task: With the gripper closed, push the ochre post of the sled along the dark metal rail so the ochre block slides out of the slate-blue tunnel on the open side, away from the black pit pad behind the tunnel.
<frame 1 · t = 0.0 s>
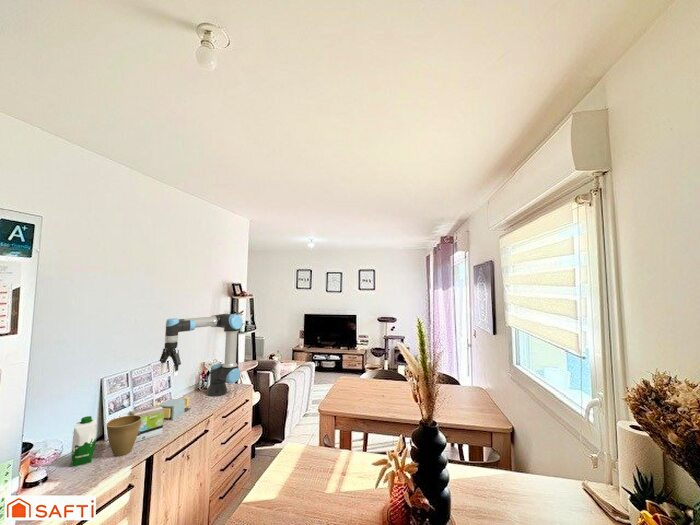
hand: (169, 374, 206), 28 cm above the table, fingers open, 13 cm apart
plant pot: (122, 453, 160), on the table
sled: (176, 407, 212), point 4 cm above the table, slide at 0.0 cm
milk carton: (82, 462, 151), on the table
tunnel: (171, 416, 206), on the table
tea box: (145, 436, 179), on the table
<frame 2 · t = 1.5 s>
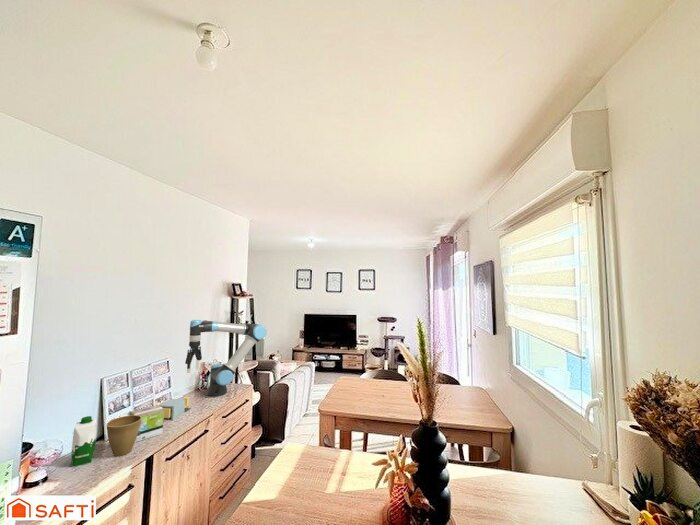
hand: (193, 370, 231), 24 cm above the table, fingers open, 10 cm apart
nothing on the table moved.
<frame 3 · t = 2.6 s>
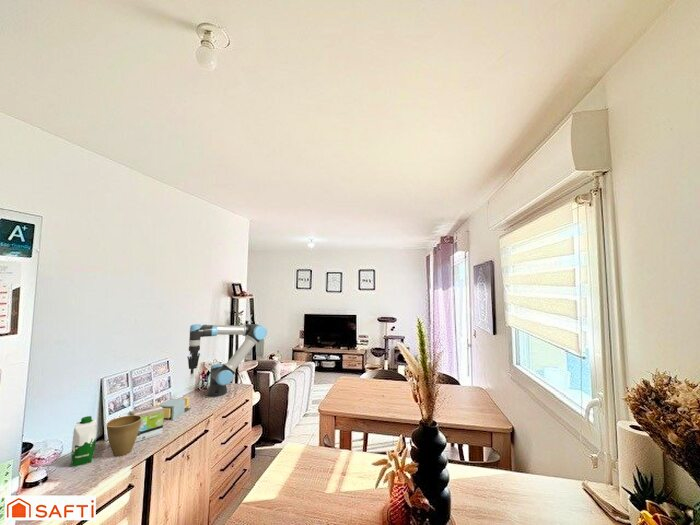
hand: (192, 377, 231), 19 cm above the table, fingers closed
nothing on the table moved.
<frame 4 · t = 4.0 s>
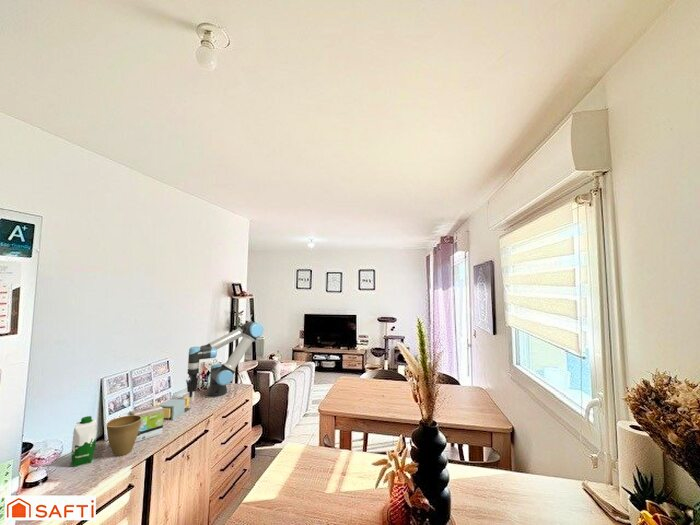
hand: (191, 400, 229), 2 cm above the table, fingers closed
nothing on the table moved.
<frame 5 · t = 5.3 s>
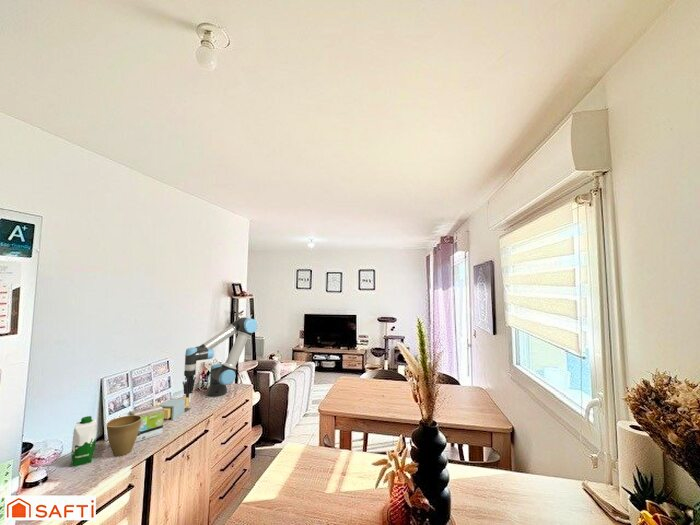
hand: (187, 402, 225), 2 cm above the table, fingers closed
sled: (175, 407, 211), point 4 cm above the table, slide at 0.9 cm, touching gripper
everything else where it was.
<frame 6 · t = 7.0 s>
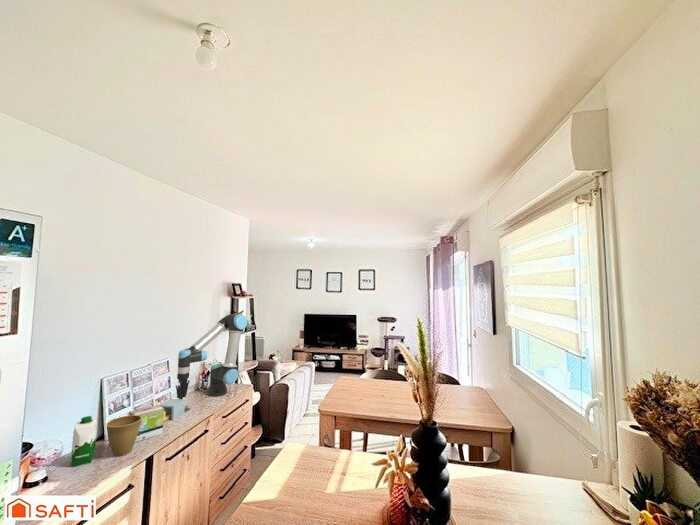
hand: (181, 407, 217), 2 cm above the table, fingers closed
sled: (168, 412, 203), point 4 cm above the table, slide at 9.1 cm, touching gripper
everything else where it was.
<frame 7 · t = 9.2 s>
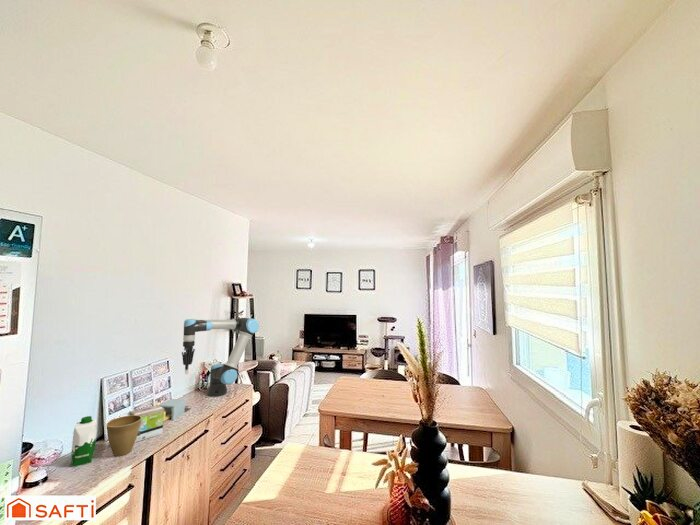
hand: (187, 373, 224), 24 cm above the table, fingers closed
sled: (168, 412, 203), point 4 cm above the table, slide at 9.0 cm
everything else where it was.
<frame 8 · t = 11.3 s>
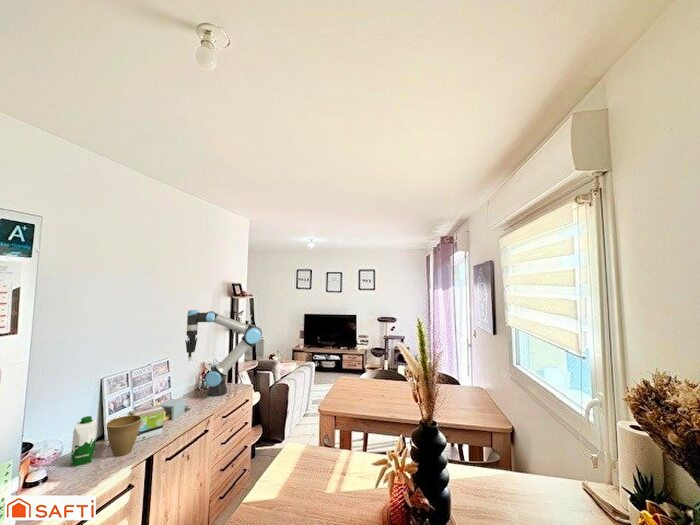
hand: (190, 361, 239), 29 cm above the table, fingers closed
nothing on the table moved.
at the end: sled slide at 9.0 cm; the gripper is holding nothing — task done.
